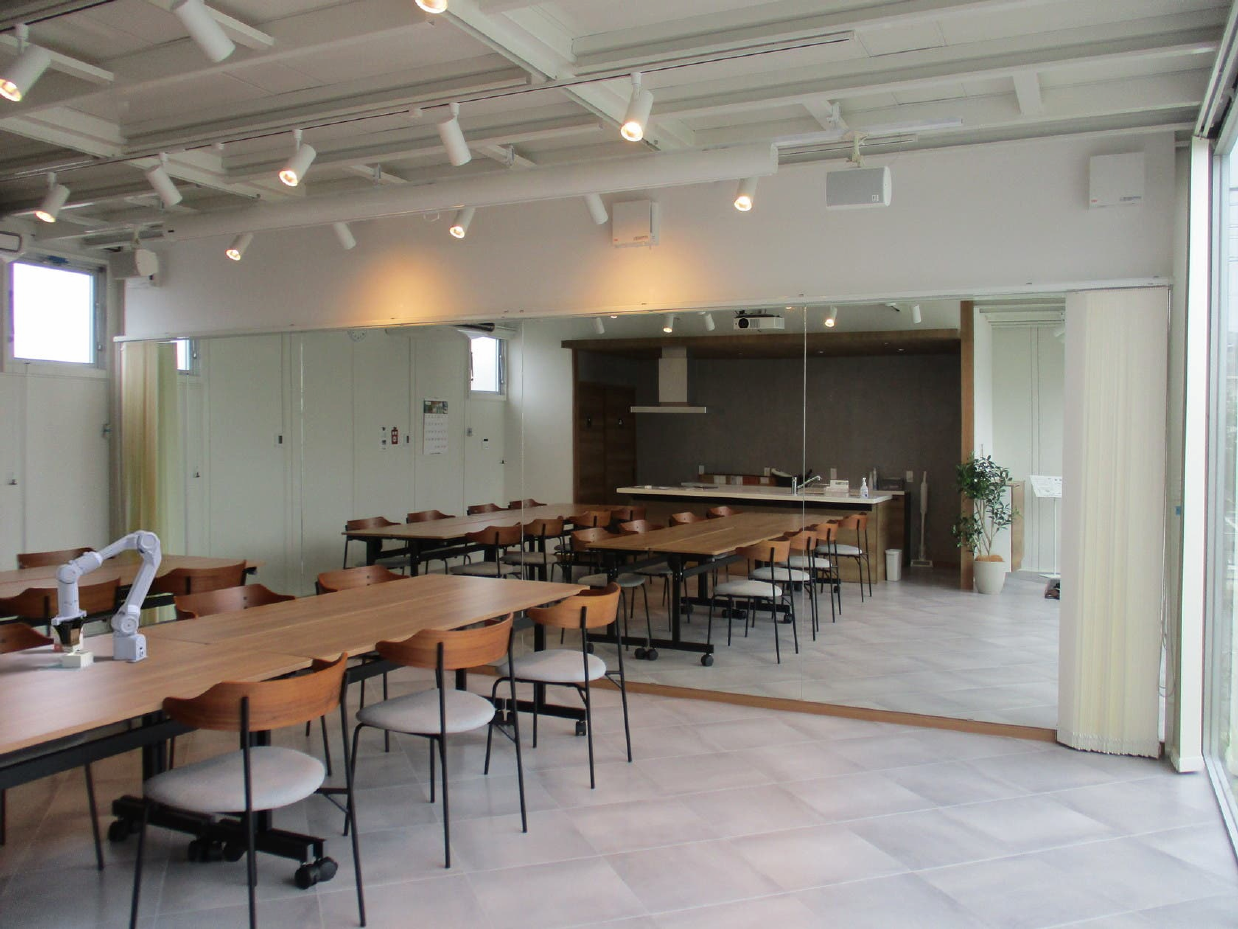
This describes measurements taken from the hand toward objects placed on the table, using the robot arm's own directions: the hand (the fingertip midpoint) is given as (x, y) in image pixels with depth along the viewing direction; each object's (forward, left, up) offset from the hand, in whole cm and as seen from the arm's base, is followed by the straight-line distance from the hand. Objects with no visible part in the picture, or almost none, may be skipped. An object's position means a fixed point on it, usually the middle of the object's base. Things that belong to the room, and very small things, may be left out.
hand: (70, 642), depth 305 cm
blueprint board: (+1, +1, -9) cm, 9 cm away
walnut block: (0, 0, -1) cm, 1 cm away
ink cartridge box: (+19, -26, -9) cm, 33 cm away
